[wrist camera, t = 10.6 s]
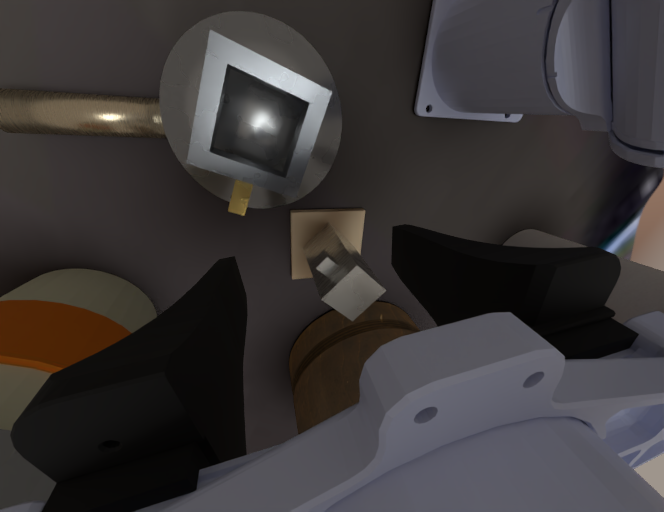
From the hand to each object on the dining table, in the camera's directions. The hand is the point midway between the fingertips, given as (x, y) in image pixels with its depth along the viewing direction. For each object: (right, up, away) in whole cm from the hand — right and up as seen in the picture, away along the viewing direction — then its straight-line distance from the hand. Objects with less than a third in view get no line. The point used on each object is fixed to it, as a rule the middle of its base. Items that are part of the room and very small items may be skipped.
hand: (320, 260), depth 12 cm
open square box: (-4, +7, +4) cm, 9 cm away
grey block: (0, +1, +10) cm, 10 cm away
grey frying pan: (-8, +9, +5) cm, 13 cm away
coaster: (0, +1, +11) cm, 11 cm away
